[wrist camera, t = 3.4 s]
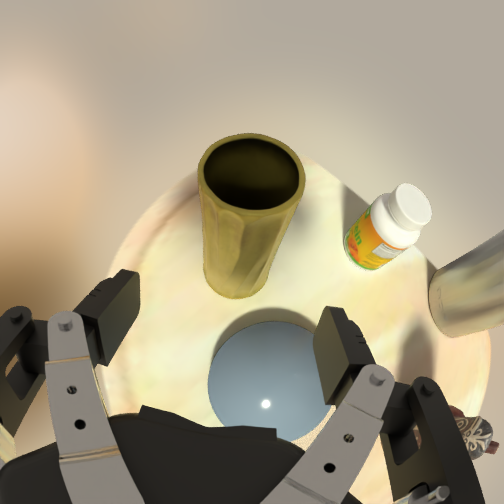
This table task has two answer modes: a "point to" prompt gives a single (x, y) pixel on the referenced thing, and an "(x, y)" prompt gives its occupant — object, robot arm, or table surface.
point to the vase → (246, 209)
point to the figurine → (471, 434)
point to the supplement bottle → (387, 227)
